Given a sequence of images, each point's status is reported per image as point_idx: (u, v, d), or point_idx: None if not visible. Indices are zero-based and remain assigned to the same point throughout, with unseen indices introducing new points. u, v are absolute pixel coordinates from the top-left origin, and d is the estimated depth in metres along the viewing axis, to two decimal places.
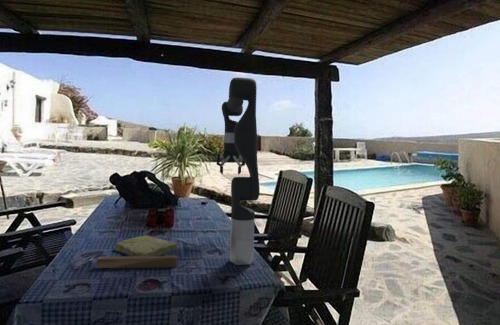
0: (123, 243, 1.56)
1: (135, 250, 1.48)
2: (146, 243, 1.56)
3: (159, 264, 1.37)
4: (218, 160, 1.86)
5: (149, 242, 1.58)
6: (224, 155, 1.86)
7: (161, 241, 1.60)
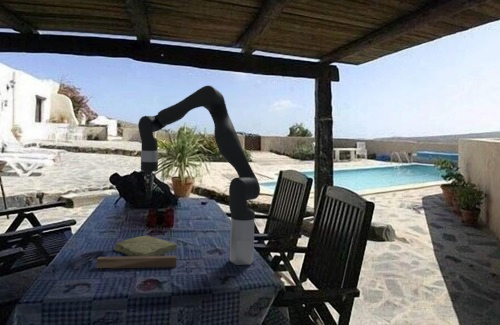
0: (123, 243, 1.56)
1: (135, 250, 1.48)
2: (146, 243, 1.56)
3: (159, 264, 1.37)
4: (150, 185, 1.66)
5: (149, 242, 1.58)
6: (150, 179, 1.66)
7: (161, 241, 1.60)
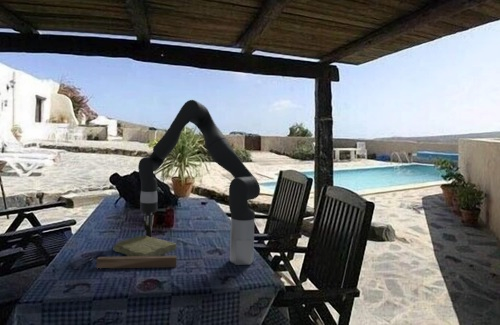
0: (122, 243, 1.55)
1: (135, 250, 1.47)
2: (145, 243, 1.56)
3: (159, 264, 1.37)
4: (150, 226, 1.66)
5: (148, 242, 1.57)
6: (150, 220, 1.66)
7: (160, 241, 1.59)
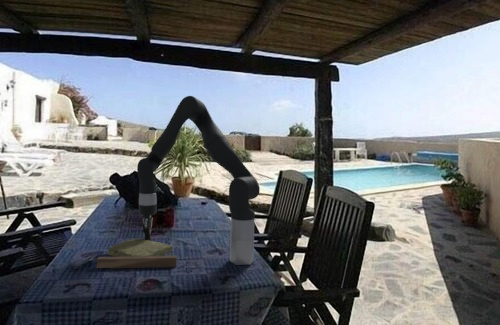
0: (117, 247, 1.50)
1: (132, 253, 1.43)
2: (141, 246, 1.52)
3: (159, 264, 1.37)
4: (149, 229, 1.60)
5: (144, 245, 1.54)
6: (149, 223, 1.61)
7: (156, 243, 1.56)
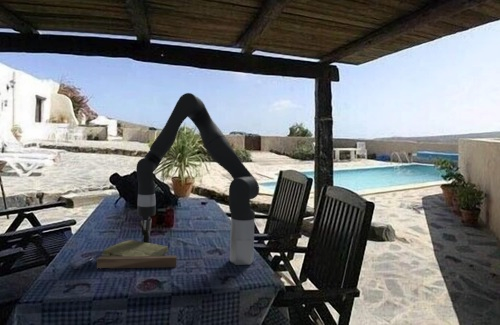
0: (111, 249, 1.48)
1: None
2: (136, 248, 1.50)
3: (159, 264, 1.37)
4: (148, 231, 1.57)
5: (139, 246, 1.51)
6: (148, 225, 1.57)
7: (151, 245, 1.54)
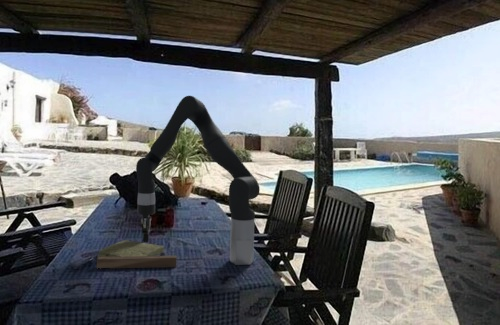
0: (107, 250, 1.46)
1: (126, 256, 1.41)
2: (132, 248, 1.49)
3: (159, 264, 1.37)
4: (148, 229, 1.60)
5: (135, 247, 1.51)
6: (147, 223, 1.60)
7: (147, 245, 1.54)
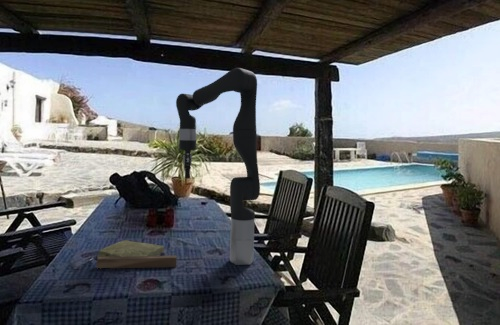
0: (107, 250, 1.46)
1: (126, 256, 1.41)
2: (132, 248, 1.49)
3: (159, 264, 1.37)
4: None
5: (135, 247, 1.51)
6: (190, 158, 1.64)
7: (147, 245, 1.54)
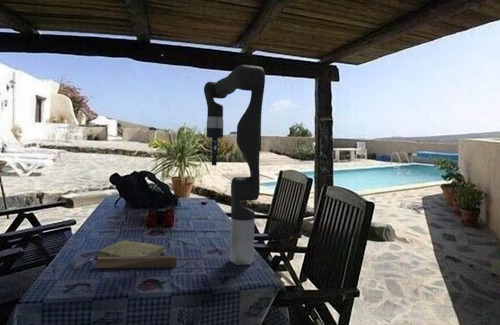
0: (107, 250, 1.46)
1: (126, 256, 1.41)
2: (132, 248, 1.49)
3: (159, 264, 1.37)
4: (217, 151, 1.66)
5: (135, 247, 1.51)
6: None
7: (147, 245, 1.54)
